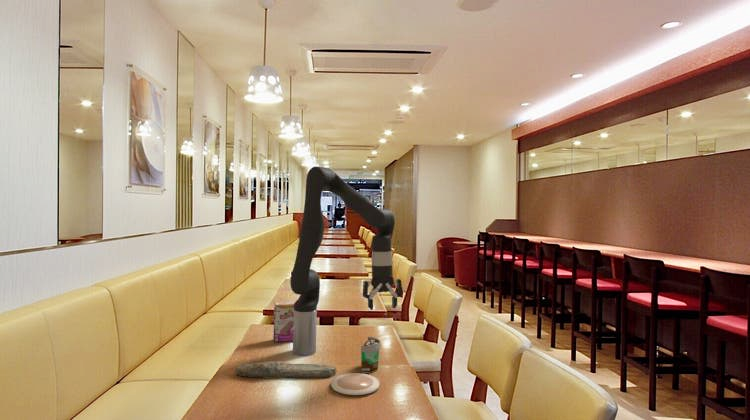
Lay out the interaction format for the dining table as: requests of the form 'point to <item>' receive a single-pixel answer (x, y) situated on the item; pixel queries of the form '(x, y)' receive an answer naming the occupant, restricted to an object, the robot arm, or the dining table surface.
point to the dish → (355, 384)
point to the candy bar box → (283, 322)
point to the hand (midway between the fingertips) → (382, 308)
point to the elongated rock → (285, 370)
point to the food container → (370, 355)
